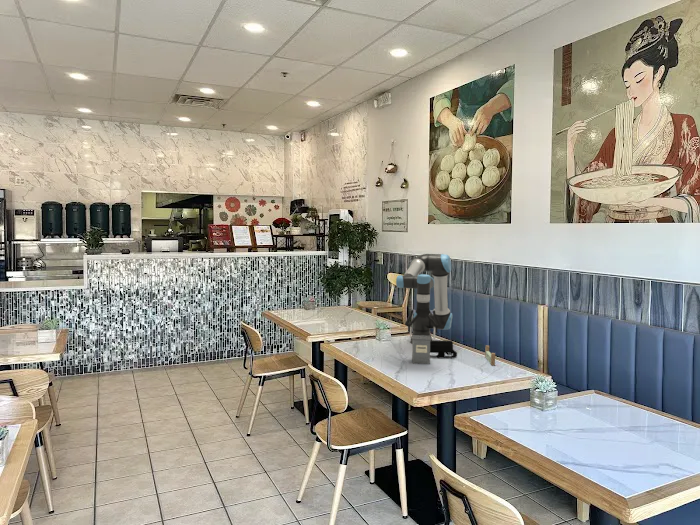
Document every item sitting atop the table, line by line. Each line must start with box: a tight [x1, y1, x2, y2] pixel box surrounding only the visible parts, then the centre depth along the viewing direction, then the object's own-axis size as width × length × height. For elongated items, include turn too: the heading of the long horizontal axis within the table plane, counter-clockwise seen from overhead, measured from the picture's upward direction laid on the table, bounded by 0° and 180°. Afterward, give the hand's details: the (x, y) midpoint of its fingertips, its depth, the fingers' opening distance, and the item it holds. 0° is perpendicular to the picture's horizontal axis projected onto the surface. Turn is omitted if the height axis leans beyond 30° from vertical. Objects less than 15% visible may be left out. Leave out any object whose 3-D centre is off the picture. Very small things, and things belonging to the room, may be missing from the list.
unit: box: [411, 334, 431, 365], centre depth 314 cm, size 11×11×15 cm
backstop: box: [484, 345, 496, 367], centre depth 317 cm, size 21×2×7 cm, turn 175°
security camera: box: [430, 339, 458, 359], centre depth 326 cm, size 7×18×10 cm, turn 89°
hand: (422, 338), depth 302 cm, fingers open, 13 cm apart
